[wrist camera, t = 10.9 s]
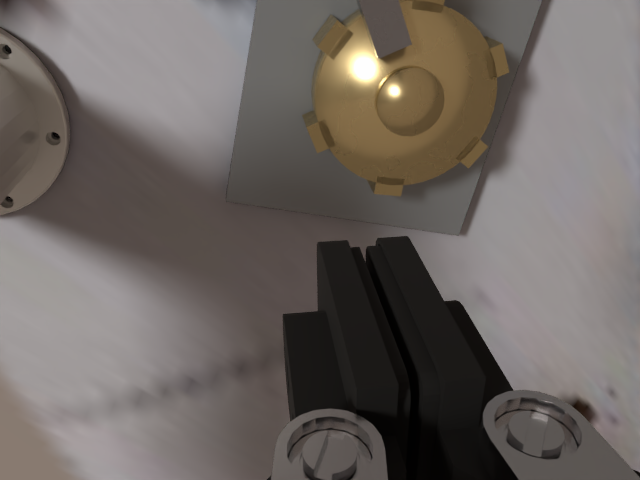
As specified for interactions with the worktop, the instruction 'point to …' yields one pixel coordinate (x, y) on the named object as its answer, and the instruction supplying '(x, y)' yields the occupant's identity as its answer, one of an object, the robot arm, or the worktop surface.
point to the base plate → (324, 168)
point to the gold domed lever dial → (403, 91)
